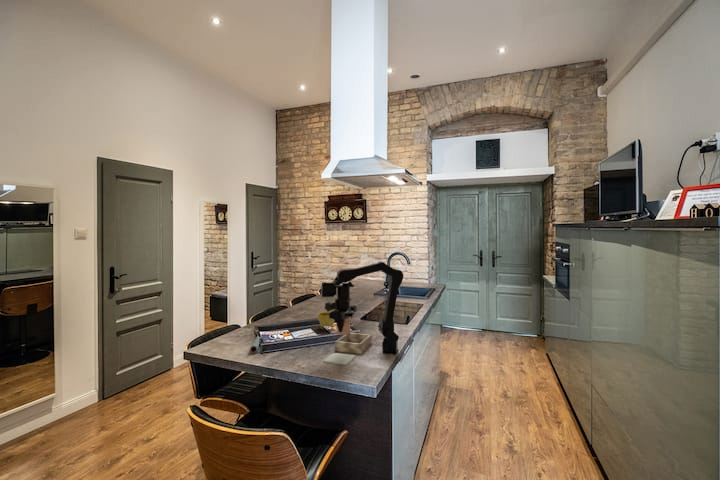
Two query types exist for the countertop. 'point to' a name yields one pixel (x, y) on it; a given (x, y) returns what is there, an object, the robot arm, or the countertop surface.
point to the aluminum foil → (255, 346)
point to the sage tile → (340, 358)
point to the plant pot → (325, 319)
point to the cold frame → (350, 347)
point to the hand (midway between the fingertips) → (343, 330)
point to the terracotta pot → (344, 327)
